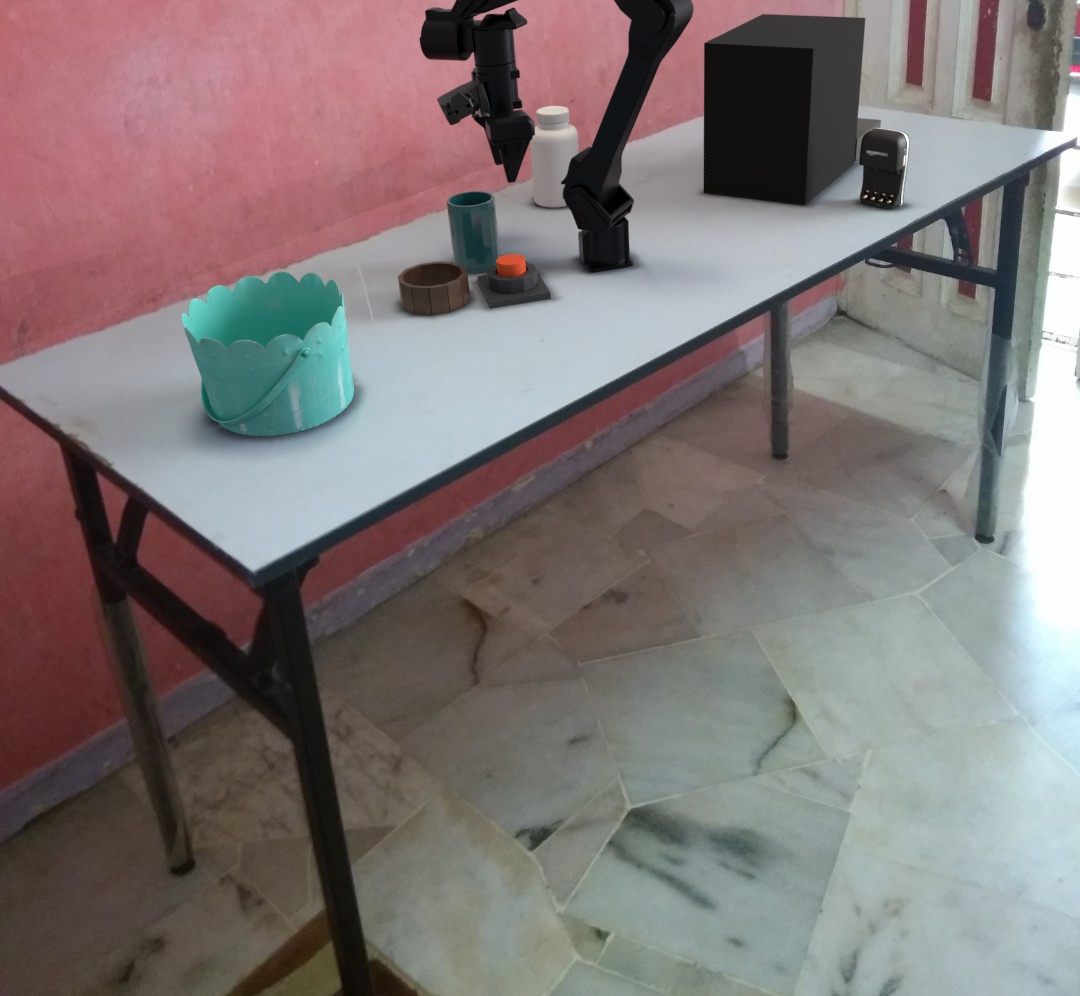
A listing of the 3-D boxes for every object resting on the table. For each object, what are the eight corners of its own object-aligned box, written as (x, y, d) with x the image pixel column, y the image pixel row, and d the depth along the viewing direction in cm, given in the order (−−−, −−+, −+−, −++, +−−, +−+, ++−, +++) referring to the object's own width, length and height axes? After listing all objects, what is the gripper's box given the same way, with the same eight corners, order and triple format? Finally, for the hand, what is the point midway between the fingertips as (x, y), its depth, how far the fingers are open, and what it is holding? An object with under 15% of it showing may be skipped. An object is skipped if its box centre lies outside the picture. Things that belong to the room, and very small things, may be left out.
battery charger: (852, 204, 180) (858, 131, 174) (865, 197, 182) (871, 124, 176) (892, 212, 176) (899, 137, 170) (905, 205, 178) (912, 131, 172)
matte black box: (878, 144, 205) (891, 3, 192) (806, 205, 181) (814, 48, 168) (784, 136, 214) (790, 0, 201) (703, 193, 190) (704, 43, 177)
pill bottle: (577, 208, 188) (572, 115, 180) (529, 208, 190) (522, 116, 181) (585, 193, 194) (580, 102, 186) (539, 193, 196) (532, 103, 188)
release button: (495, 270, 161) (493, 256, 160) (522, 266, 161) (521, 252, 160) (500, 280, 157) (499, 266, 156) (529, 276, 158) (527, 262, 157)
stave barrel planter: (463, 284, 164) (460, 257, 162) (474, 308, 156) (471, 281, 154) (398, 294, 163) (394, 267, 160) (406, 319, 155) (402, 292, 153)
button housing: (477, 282, 164) (475, 262, 163) (535, 273, 165) (533, 253, 164) (490, 308, 156) (488, 288, 154) (551, 299, 157) (549, 278, 156)
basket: (376, 420, 131) (358, 316, 124) (215, 457, 127) (187, 352, 120) (343, 355, 147) (325, 260, 140) (199, 386, 142) (173, 289, 135)
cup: (495, 253, 173) (489, 188, 168) (504, 268, 168) (498, 202, 162) (451, 260, 172) (443, 195, 167) (458, 276, 167) (451, 209, 161)
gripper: (428, 55, 165) (441, 163, 174) (448, 83, 150) (461, 200, 158) (503, 46, 167) (512, 153, 175) (531, 72, 151) (539, 188, 160)
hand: (505, 173), depth 167 cm, fingers open, 9 cm apart
